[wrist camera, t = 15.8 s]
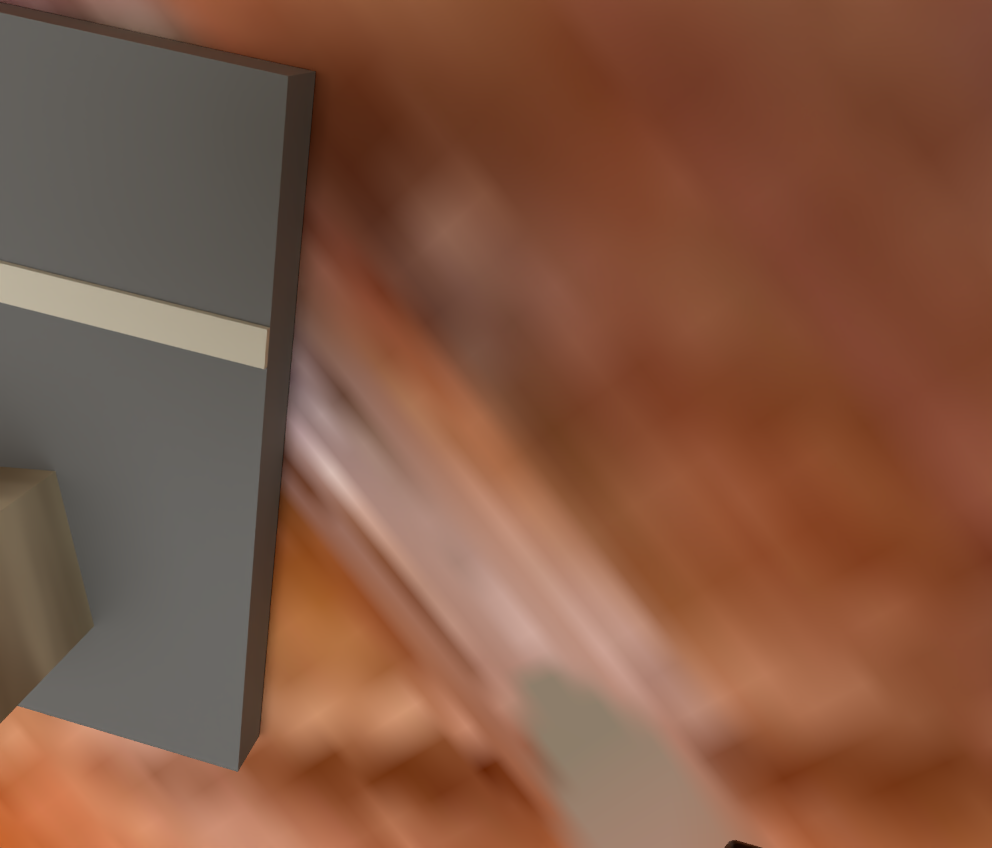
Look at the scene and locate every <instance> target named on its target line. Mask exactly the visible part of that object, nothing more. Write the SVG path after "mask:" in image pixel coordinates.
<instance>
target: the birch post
mask: <svg viewBox="0 0 992 848" xmlns="http://www.w3.org/2000/svg"><path fill="white" fill-rule="evenodd" d="M93 627H94V623H93V620H92V616H91V612H90V608H89V604H88V600H87V596H86V592H85V588H84V584H83V580H82V576H81V572H80V568H79V564H78V560H77V556H76V552H75V548H74V544H73V540H72V536H71V532H70V528H69V524H68V520H67V516H66V512H65V508H64V504H63V500H62V496H61V492H60V488H59V484H58V480H57V476H56V472H55V471H47V470H35V469H23V468H11V467H0V723H1V722H2V721H3V720H4V719H5V718H6V717H7V716H8V715H9V714H10V713H11V712H12V711H13V710H14V709H15V708H16V706H17V705H18V704H19V703H20V702H21V701H22V700H23V699H24V698H25V697H26V696H27V695H28V694H29V693H30V692H31V691H32V690H33V689H34V688H35V687H36V686H37V685H38V684H39V683H40V682H41V681H42V679H43V678H44V677H45V676H46V675H47V674H48V673H49V672H50V671H51V670H52V669H53V668H54V667H55V666H56V665H57V664H58V663H59V662H60V661H61V660H62V659H63V658H64V657H65V656H66V655H67V654H68V652H69V651H70V650H71V649H72V648H73V647H74V646H75V645H76V644H77V643H78V642H79V641H80V640H81V639H82V638H83V637H84V636H85V635H86V634H87V633H88V632H89V631H90V630H91V629H92V628H93Z"/></svg>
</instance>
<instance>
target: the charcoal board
mask: <svg viewBox="0 0 992 848" xmlns="http://www.w3.org/2000/svg"><path fill="white" fill-rule="evenodd" d="M315 74H316V72H315V71H311V70H306V69H302V68H297V67H293V66H288V65H283V64H279V63H274V62H270V61H265V60H261V59H256V58H252V57H247V56H243V55H238V54H233V53H229V52H224V51H220V50H215V49H211V48H206V47H202V46H197V45H193V44H188V43H183V42H179V41H174V40H170V39H165V38H161V37H156V36H152V35H147V34H142V33H138V32H133V31H129V30H124V29H120V28H115V27H111V26H106V25H102V24H97V23H92V22H88V21H83V20H79V19H74V18H70V17H65V16H61V15H56V14H52V13H47V12H42V11H38V10H33V9H29V8H24V7H20V6H15V5H11V4H6V3H2V2H0V467H11V468H23V469H35V470H47V471H55V472H56V476H57V480H58V484H59V488H60V492H61V496H62V500H63V504H64V508H65V512H66V516H67V520H68V524H69V528H70V532H71V536H72V540H73V544H74V548H75V552H76V556H77V560H78V564H79V568H80V572H81V576H82V580H83V584H84V588H85V592H86V596H87V600H88V604H89V608H90V612H91V616H92V620H93V623H94V627H93V628H92V629H91V630H90V631H89V632H88V633H87V634H86V635H85V636H84V637H83V638H82V639H81V640H80V641H79V642H78V643H77V644H76V645H75V646H74V647H73V648H72V649H71V650H70V651H69V652H68V654H67V655H66V656H65V657H64V658H63V659H62V660H61V661H60V662H59V663H58V664H57V665H56V666H55V667H54V668H53V669H52V670H51V671H50V672H49V673H48V674H47V675H46V676H45V677H44V678H43V679H42V681H41V682H40V683H39V684H38V685H37V686H36V687H35V688H34V689H33V690H32V691H31V692H30V693H29V694H28V695H27V696H26V697H25V698H24V699H23V700H22V701H21V702H20V703H19V704H18V705H17V706H20V707H24V708H27V709H30V710H34V711H37V712H40V713H44V714H47V715H50V716H54V717H57V718H60V719H64V720H67V721H70V722H74V723H77V724H80V725H84V726H87V727H90V728H94V729H97V730H100V731H104V732H107V733H110V734H114V735H117V736H120V737H124V738H127V739H130V740H134V741H137V742H140V743H144V744H147V745H150V746H154V747H157V748H160V749H164V750H167V751H170V752H174V753H177V754H180V755H184V756H187V757H190V758H194V759H197V760H200V761H204V762H207V763H210V764H214V765H217V766H220V767H224V768H227V769H230V770H234V771H237V772H238V771H239V769H240V767H241V766H242V764H243V762H244V760H245V759H246V757H247V755H248V754H249V752H250V750H251V749H252V747H253V745H254V743H255V742H256V740H257V738H258V737H259V730H260V719H261V707H262V695H263V684H264V672H265V660H266V648H267V637H268V625H269V613H270V601H271V590H272V578H273V566H274V555H275V543H276V531H277V519H278V508H279V496H280V484H281V472H282V461H283V449H284V437H285V425H286V414H287V402H288V390H289V379H290V367H291V355H292V343H293V332H294V320H295V308H296V296H297V285H298V273H299V261H300V250H301V238H302V226H303V214H304V203H305V191H306V179H307V167H308V156H309V144H310V132H311V121H312V109H313V97H314V85H315Z"/></svg>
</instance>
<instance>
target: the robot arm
mask: <svg viewBox="0 0 992 848" xmlns="http://www.w3.org/2000/svg"><path fill="white" fill-rule="evenodd" d="M725 848H761V847H758V846H754V845H751V844H747V843H744V842H740V841H737V840H732V841H729V843H728V844H727V845H726V846H725Z"/></svg>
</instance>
